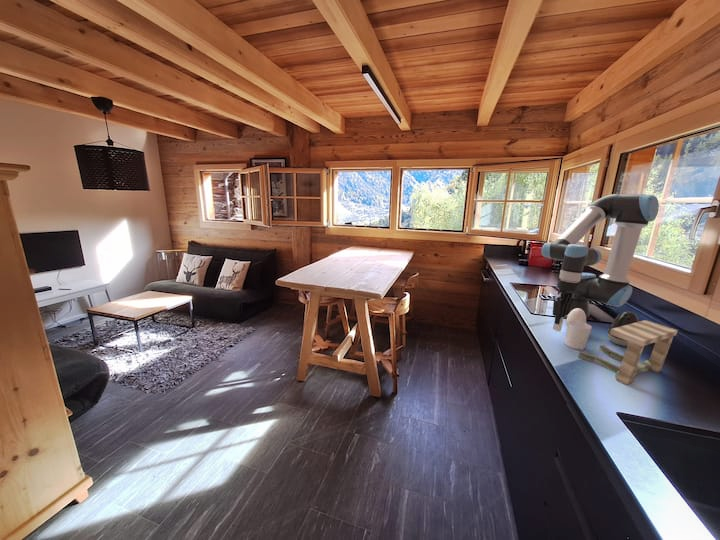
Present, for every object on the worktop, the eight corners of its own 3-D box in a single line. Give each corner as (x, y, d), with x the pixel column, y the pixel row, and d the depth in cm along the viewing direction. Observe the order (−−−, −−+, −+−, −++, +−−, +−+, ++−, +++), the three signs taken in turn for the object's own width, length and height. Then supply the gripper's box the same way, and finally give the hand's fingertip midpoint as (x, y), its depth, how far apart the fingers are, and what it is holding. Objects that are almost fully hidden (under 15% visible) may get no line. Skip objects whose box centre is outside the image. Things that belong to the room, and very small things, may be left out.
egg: (562, 330, 136) (567, 307, 133) (566, 326, 141) (572, 304, 138) (580, 336, 131) (587, 312, 128) (584, 332, 136) (591, 309, 133)
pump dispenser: (604, 343, 126) (614, 311, 122) (606, 335, 133) (615, 305, 129) (636, 352, 119) (647, 319, 115) (635, 343, 127) (646, 312, 123)
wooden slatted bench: (605, 347, 122) (616, 310, 118) (662, 371, 106) (677, 330, 102) (571, 357, 112) (581, 318, 108) (628, 386, 96) (643, 341, 92)
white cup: (565, 339, 128) (570, 318, 125) (587, 346, 122) (593, 325, 120) (561, 345, 122) (566, 323, 120) (584, 352, 117) (590, 330, 114)
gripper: (569, 276, 128) (557, 324, 134) (550, 278, 123) (539, 328, 129) (587, 281, 122) (574, 331, 128) (568, 284, 117) (555, 336, 123)
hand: (556, 330), depth 129 cm, fingers closed
